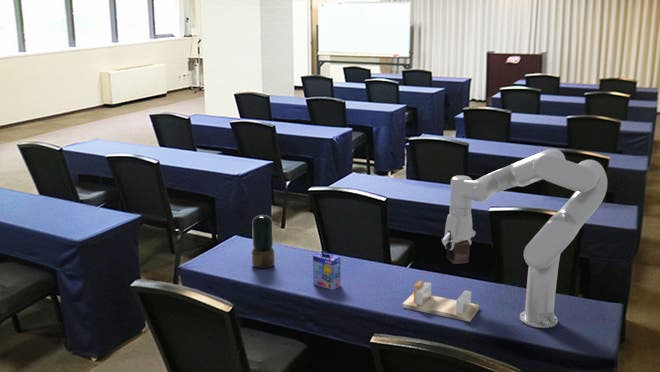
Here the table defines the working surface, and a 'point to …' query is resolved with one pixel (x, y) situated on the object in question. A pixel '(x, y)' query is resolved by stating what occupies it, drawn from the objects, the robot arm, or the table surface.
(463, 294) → the fixed jaw
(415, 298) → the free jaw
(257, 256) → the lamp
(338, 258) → the ink cartridge box
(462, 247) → the box
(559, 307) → the table surface
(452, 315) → the vise base
